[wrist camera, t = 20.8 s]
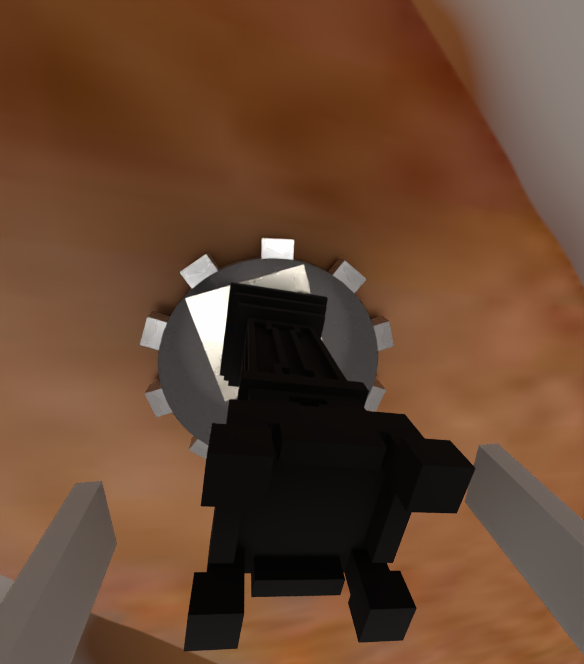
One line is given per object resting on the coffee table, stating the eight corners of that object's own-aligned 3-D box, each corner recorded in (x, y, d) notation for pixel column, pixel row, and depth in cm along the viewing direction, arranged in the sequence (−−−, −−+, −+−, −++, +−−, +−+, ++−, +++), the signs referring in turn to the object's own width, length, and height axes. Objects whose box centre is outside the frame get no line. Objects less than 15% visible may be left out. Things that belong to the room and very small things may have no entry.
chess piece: (230, 282, 26) (190, 437, 7) (325, 296, 28) (493, 457, 9) (220, 371, 29) (169, 660, 10) (307, 380, 30) (410, 647, 11)
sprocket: (197, 482, 35) (174, 607, 24) (102, 281, 27) (-1, 324, 16) (399, 420, 36) (469, 512, 25) (363, 208, 28) (441, 200, 17)
